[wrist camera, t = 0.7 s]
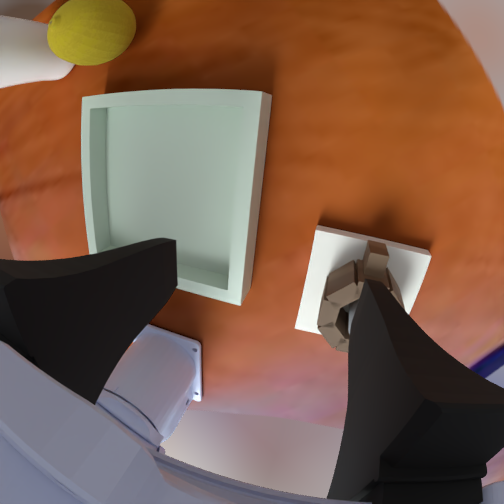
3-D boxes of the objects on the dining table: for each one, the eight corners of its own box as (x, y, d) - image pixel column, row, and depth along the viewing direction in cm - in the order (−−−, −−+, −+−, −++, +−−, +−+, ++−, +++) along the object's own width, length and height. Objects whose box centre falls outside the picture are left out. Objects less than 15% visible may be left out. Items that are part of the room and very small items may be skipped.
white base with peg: (392, 340, 22) (396, 384, 17) (297, 320, 23) (284, 362, 19) (428, 250, 18) (447, 284, 14) (317, 224, 20) (309, 254, 16)
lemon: (144, -5, 16) (72, -32, 9) (165, 42, 17) (88, 21, 10) (96, 34, 18) (23, 25, 11) (113, 81, 19) (34, 81, 12)
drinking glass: (93, 64, 19) (-68, 72, 6) (50, 99, 22) (-84, 125, 8) (84, 8, 17) (-56, -3, 4) (43, 46, 19) (-81, 55, 6)
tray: (250, 288, 23) (240, 305, 21) (108, 250, 26) (90, 261, 24) (272, 95, 17) (262, 91, 15) (103, 96, 20) (82, 97, 18)
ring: (383, 332, 20) (386, 359, 18) (316, 318, 22) (310, 344, 19) (414, 250, 17) (424, 271, 15) (336, 232, 19) (335, 251, 16)
